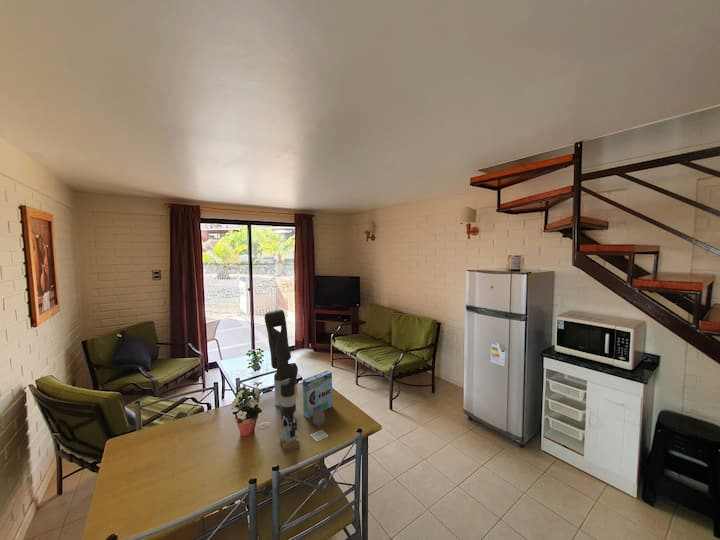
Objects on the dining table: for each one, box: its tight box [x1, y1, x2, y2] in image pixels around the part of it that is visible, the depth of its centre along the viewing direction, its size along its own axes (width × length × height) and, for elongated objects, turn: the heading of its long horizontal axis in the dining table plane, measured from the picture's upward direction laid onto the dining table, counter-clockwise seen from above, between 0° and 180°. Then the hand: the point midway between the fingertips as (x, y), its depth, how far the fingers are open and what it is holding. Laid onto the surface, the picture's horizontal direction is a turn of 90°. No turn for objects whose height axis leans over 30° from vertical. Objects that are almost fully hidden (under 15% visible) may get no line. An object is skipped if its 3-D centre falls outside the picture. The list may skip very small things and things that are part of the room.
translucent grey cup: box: [312, 410, 326, 427], centre depth 168 cm, size 5×5×6 cm
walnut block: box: [279, 434, 300, 454], centre depth 149 cm, size 8×8×4 cm
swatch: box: [310, 429, 329, 443], centre depth 156 cm, size 7×7×1 cm
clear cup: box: [281, 425, 297, 443], centre depth 148 cm, size 5×5×6 cm
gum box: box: [302, 370, 334, 419], centre depth 180 cm, size 20×5×23 cm, turn 134°
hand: (289, 432), depth 148 cm, fingers open, 8 cm apart
